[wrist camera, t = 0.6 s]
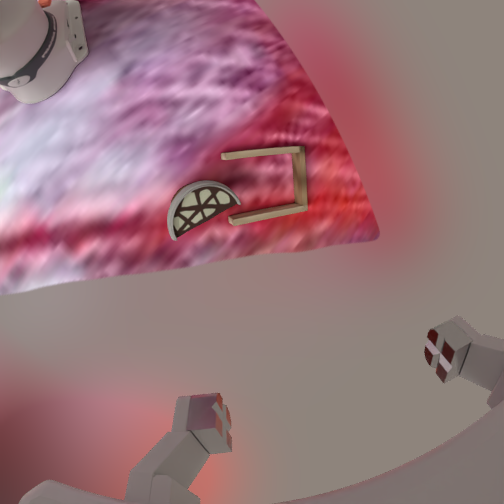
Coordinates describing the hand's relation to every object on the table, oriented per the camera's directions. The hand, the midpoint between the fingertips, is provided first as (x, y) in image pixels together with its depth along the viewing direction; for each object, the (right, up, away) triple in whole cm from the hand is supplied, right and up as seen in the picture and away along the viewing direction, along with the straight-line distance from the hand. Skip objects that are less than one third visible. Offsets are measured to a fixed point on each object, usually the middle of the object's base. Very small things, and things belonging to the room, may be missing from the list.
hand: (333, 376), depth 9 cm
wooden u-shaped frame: (-1, +18, +44) cm, 47 cm away
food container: (-14, +15, +39) cm, 44 cm away
